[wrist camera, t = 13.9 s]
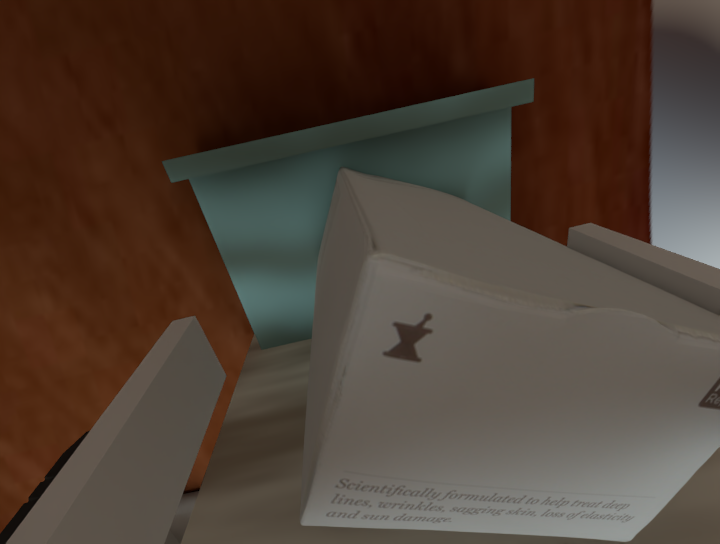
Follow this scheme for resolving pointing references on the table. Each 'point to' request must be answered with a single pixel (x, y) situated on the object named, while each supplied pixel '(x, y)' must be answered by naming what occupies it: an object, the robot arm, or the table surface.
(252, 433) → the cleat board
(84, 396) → the table surface
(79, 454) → the robot arm
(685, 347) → the skincare box
